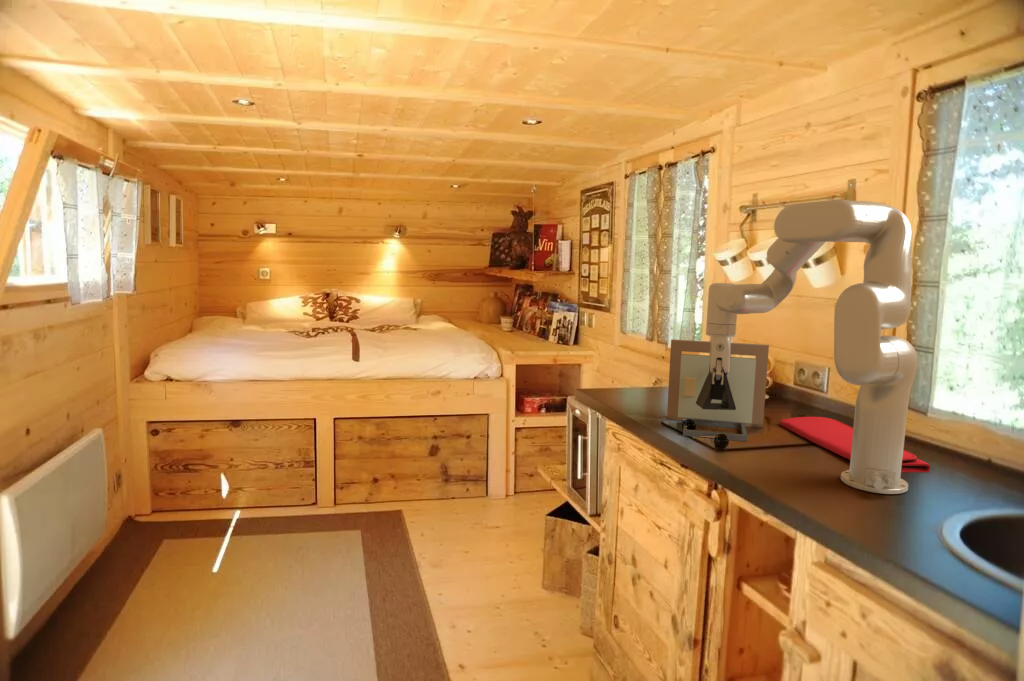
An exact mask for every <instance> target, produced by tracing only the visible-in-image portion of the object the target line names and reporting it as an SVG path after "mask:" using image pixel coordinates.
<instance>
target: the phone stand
mask: <svg viewBox="0 0 1024 681" xmlns="http://www.w3.org/2000/svg"><path fill="white" fill-rule="evenodd" d="M716 364H717V363H716ZM714 372H716V371H715V369H714ZM721 373H722V371H721ZM712 377H713V373H711V372H710V365H709V373H708V376H707V378H706V380H705V382H704V385H703V387H702V389H701V392H700V394H699V396H698V399H697V401H696V404H697V405H698V406H700V407H701V408H702V409H709V410H718V409H719V410H736V407H735V403H734V400H733V396H732V393H731V389H730V386H729V382H728V379H727V373H725V372H724V377H723V385H724V390H723V400H721V401H722V402H721V403H711V400H712V399H710V393H711V384H712ZM714 381H715V379H714Z"/></svg>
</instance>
